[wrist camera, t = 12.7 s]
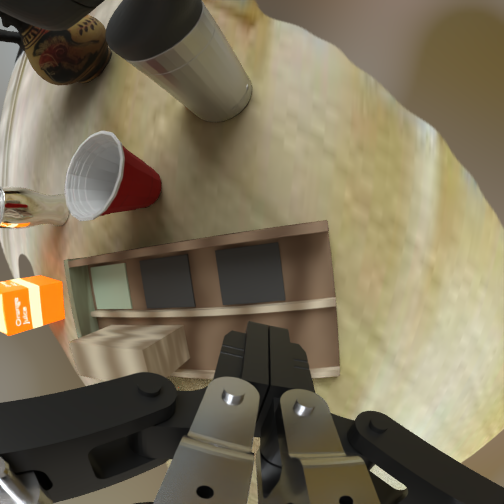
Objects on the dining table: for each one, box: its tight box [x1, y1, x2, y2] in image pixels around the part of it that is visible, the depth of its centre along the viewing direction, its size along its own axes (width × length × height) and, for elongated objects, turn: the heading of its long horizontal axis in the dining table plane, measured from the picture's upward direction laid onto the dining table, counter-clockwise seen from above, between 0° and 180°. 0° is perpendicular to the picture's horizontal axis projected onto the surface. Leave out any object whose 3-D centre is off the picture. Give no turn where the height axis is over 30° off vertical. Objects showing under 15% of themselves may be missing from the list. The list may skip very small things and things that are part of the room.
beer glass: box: [0, 187, 69, 229], centre depth 37 cm, size 7×7×15 cm
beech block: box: [69, 325, 190, 381], centre depth 35 cm, size 14×5×10 cm, turn 98°
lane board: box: [64, 220, 340, 379], centre depth 36 cm, size 39×19×5 cm, turn 98°
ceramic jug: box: [0, 11, 112, 85], centre depth 27 cm, size 17×15×30 cm
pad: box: [90, 263, 133, 309], centre depth 40 cm, size 8×7×1 cm
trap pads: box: [139, 242, 286, 309], centre depth 36 cm, size 20×7×1 cm, turn 98°
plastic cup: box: [64, 131, 161, 221], centre depth 33 cm, size 11×11×12 cm
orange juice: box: [0, 275, 65, 336], centre depth 37 cm, size 8×9×20 cm
